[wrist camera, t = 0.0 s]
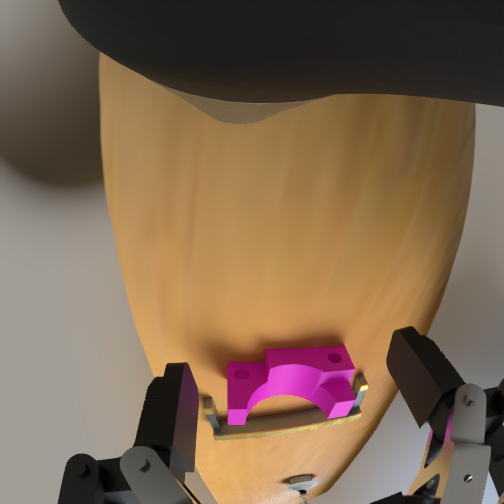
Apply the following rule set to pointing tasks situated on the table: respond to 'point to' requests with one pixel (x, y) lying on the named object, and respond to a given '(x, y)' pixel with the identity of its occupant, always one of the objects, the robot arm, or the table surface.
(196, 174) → the table surface
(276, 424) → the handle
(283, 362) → the toy block
